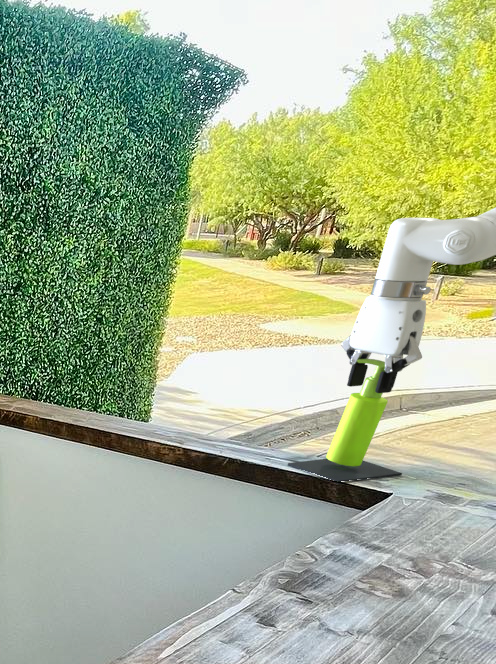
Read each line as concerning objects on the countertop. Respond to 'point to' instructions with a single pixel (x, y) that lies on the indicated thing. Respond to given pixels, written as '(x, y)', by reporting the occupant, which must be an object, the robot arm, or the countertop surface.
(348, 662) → the countertop surface
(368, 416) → the soap dispenser
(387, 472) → the mat
